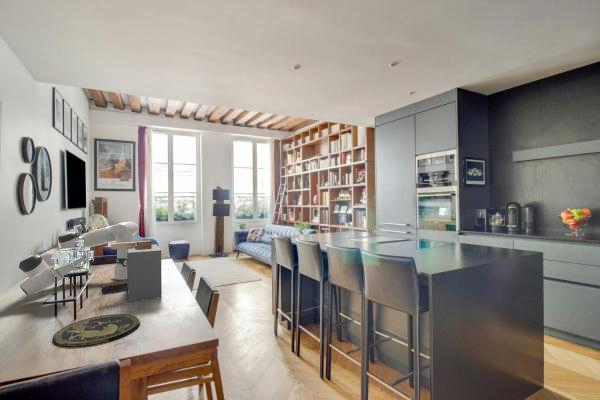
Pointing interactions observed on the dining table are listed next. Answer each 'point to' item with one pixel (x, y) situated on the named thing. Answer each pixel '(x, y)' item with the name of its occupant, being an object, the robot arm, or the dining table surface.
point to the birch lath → (123, 245)
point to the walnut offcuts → (144, 244)
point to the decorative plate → (96, 330)
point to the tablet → (114, 289)
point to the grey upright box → (144, 273)
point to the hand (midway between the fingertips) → (84, 257)
